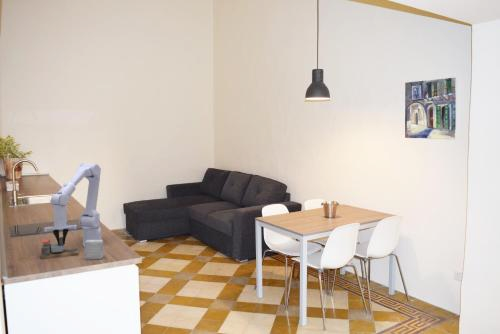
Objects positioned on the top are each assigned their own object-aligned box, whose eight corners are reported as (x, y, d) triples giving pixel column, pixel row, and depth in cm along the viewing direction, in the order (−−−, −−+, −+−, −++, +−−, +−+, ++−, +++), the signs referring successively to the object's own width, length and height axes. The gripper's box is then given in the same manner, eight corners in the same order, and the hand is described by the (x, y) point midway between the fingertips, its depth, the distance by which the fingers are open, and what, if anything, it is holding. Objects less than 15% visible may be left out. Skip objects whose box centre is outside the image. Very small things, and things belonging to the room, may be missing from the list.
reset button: (50, 240, 204) (50, 238, 204) (49, 242, 200) (49, 240, 200) (42, 241, 202) (42, 239, 202) (41, 243, 199) (41, 241, 199)
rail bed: (79, 249, 212) (78, 239, 211) (78, 255, 203) (77, 244, 202) (42, 253, 206) (42, 243, 205) (40, 259, 197) (39, 248, 196)
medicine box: (104, 256, 200) (103, 239, 199) (101, 259, 196) (100, 242, 195) (87, 256, 200) (87, 239, 199) (84, 259, 196) (83, 242, 195)
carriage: (64, 247, 208) (63, 236, 207) (63, 251, 201) (62, 239, 201) (53, 248, 206) (52, 237, 206) (51, 252, 200) (51, 240, 199)
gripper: (43, 220, 196) (44, 247, 198) (75, 218, 202) (76, 244, 203) (44, 217, 203) (46, 244, 204) (76, 215, 208) (77, 241, 209)
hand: (61, 244), depth 204 cm, fingers closed on carriage, 2 cm apart
